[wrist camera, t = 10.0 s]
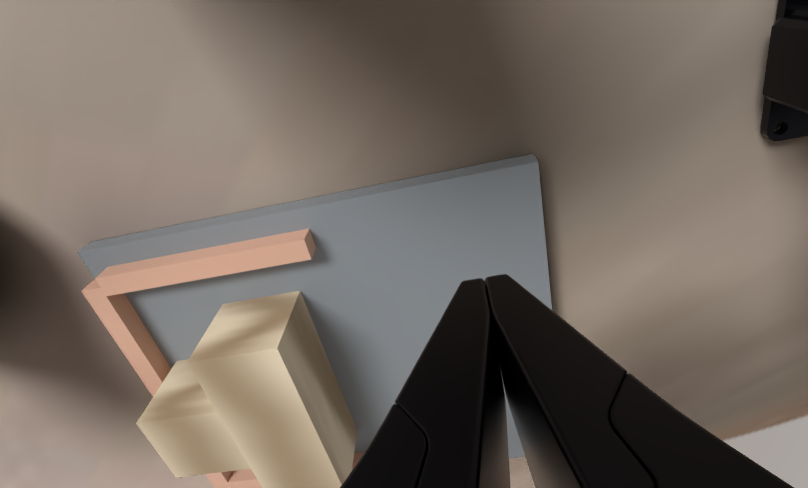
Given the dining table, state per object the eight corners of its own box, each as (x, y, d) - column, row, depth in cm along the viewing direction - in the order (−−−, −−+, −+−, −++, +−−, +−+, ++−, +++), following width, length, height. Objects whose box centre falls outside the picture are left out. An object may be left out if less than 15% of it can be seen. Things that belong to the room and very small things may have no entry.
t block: (300, 290, 22) (277, 348, 19) (357, 430, 27) (347, 497, 24) (149, 316, 24) (101, 376, 20) (229, 446, 28) (202, 512, 25)
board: (533, 153, 20) (543, 170, 18) (561, 437, 28) (570, 467, 26) (90, 241, 23) (62, 264, 21) (236, 474, 31) (225, 503, 29)
